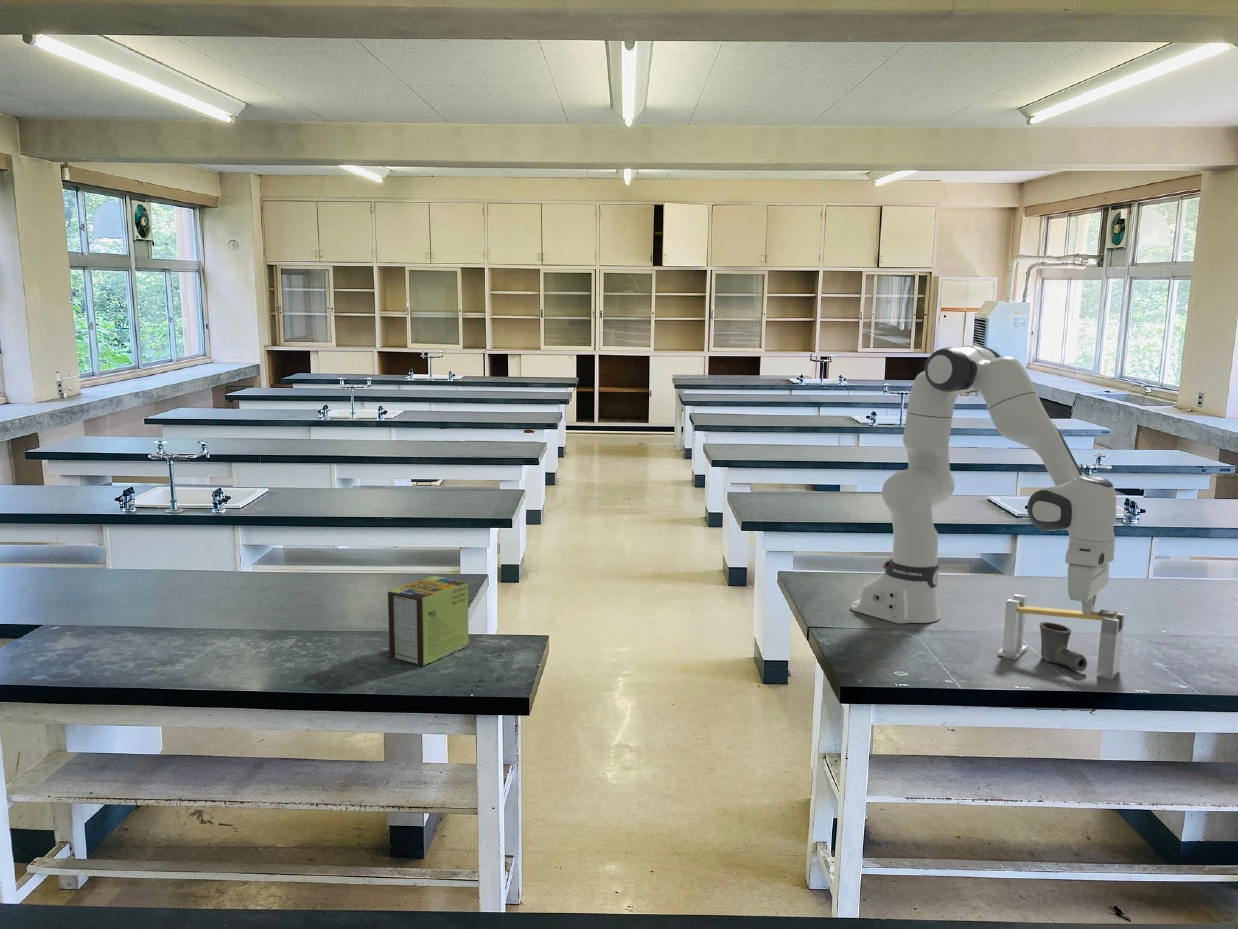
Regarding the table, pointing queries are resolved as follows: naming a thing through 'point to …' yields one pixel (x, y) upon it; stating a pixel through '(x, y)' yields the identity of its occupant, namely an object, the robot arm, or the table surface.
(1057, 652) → the pipe
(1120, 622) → the stop block
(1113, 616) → the yellow bar
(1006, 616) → the grey slotted stand
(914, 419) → the robot arm
